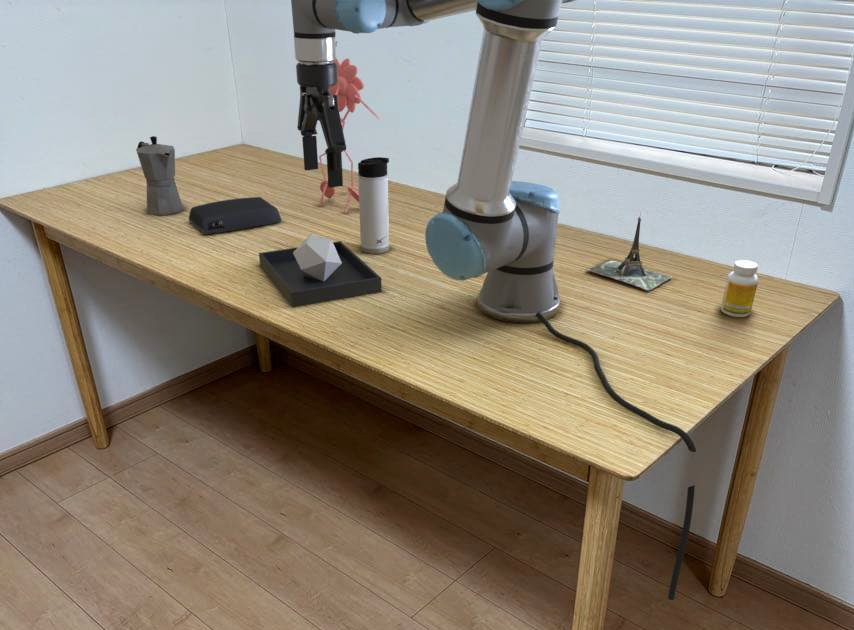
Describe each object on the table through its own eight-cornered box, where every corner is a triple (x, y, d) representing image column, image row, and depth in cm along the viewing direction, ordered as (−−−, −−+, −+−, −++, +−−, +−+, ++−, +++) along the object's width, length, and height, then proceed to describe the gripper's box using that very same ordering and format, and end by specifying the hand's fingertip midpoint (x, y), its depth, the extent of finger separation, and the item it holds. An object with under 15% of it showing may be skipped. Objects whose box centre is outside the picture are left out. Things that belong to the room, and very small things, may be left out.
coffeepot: (195, 212, 200) (184, 138, 190) (160, 220, 194) (147, 144, 185) (165, 198, 209) (153, 127, 200) (131, 206, 204) (117, 133, 194)
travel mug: (386, 255, 175) (384, 162, 164) (357, 253, 176) (353, 160, 165) (393, 245, 180) (392, 155, 170) (365, 243, 181) (362, 153, 171)
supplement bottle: (716, 306, 153) (726, 258, 148) (744, 306, 152) (755, 258, 148) (725, 317, 148) (736, 269, 143) (754, 318, 148) (766, 269, 143)
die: (350, 278, 164) (337, 231, 164) (335, 271, 155) (322, 222, 156) (313, 290, 166) (300, 245, 166) (296, 285, 157) (283, 236, 158)
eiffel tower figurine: (585, 272, 167) (592, 209, 160) (611, 260, 173) (619, 199, 166) (648, 292, 158) (659, 227, 151) (674, 278, 164) (685, 215, 157)
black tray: (381, 291, 157) (381, 277, 156) (292, 307, 151) (291, 292, 149) (341, 253, 175) (340, 240, 174) (260, 266, 169) (258, 252, 167)
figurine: (367, 221, 194) (361, 67, 176) (295, 200, 209) (283, 55, 191) (408, 206, 205) (407, 59, 187) (337, 188, 219) (330, 49, 201)
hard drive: (187, 221, 193) (185, 204, 191) (263, 209, 202) (261, 193, 200) (204, 237, 184) (202, 219, 182) (283, 223, 192) (281, 207, 190)
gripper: (361, 70, 139) (365, 191, 150) (312, 52, 158) (319, 160, 169) (320, 73, 136) (327, 196, 147) (275, 54, 155) (285, 164, 166)
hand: (323, 177), depth 158 cm, fingers open, 13 cm apart
